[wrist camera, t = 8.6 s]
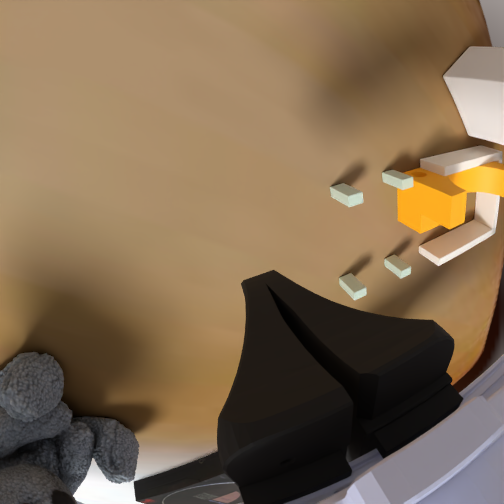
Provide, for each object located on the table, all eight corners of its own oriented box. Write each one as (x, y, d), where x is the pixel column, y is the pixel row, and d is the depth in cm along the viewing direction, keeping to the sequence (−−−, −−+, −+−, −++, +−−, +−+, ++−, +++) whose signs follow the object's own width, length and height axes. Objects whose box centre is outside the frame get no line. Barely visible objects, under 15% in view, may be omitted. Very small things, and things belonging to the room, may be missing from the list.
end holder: (476, 223, 29) (494, 233, 27) (418, 252, 28) (438, 266, 25) (481, 145, 25) (502, 151, 22) (420, 159, 23) (444, 167, 20)
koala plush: (148, 433, 29) (177, 591, 12) (49, 457, 27) (50, 578, 10) (37, 331, 20) (-5, 562, 3) (-47, 378, 19) (-83, 518, 2)
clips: (394, 261, 27) (410, 273, 25) (384, 265, 27) (400, 278, 25) (392, 169, 23) (413, 176, 20) (382, 172, 22) (402, 180, 20)
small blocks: (351, 280, 26) (366, 294, 24) (339, 285, 26) (354, 300, 24) (343, 183, 22) (362, 191, 20) (329, 187, 22) (348, 196, 20)
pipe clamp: (396, 219, 25) (447, 250, 20) (395, 173, 23) (451, 196, 18) (470, 191, 27) (515, 211, 21) (471, 153, 25) (519, 170, 19)
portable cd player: (276, 469, 42) (283, 488, 39) (197, 500, 42) (201, 517, 39) (224, 445, 34) (231, 470, 31) (133, 479, 34) (135, 500, 31)
